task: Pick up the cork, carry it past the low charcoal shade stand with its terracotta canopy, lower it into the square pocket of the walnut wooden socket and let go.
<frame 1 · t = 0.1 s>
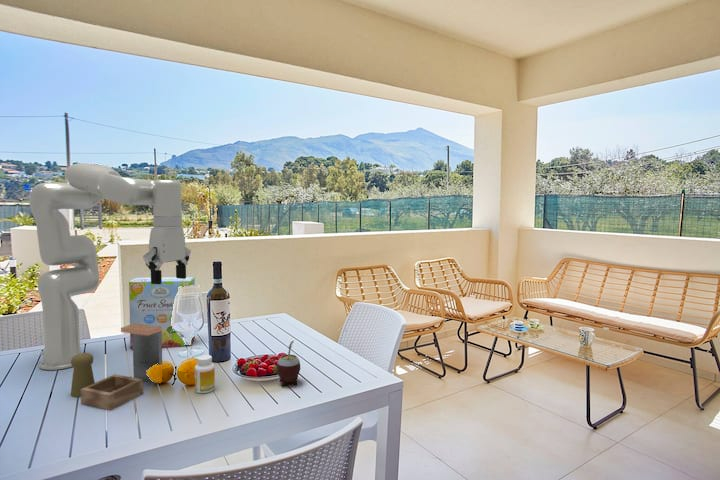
hand: (169, 281, 118), 31 cm above the table, tool pointing down, fingers open, 9 cm apart
supplement bottle: (205, 390, 117), on the table
snack box: (164, 345, 154), on the table
socket block: (112, 398, 111), on the table
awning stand: (148, 380, 122), on the table
cork: (83, 392, 114), on the table
mate gourd: (289, 384, 122), on the table
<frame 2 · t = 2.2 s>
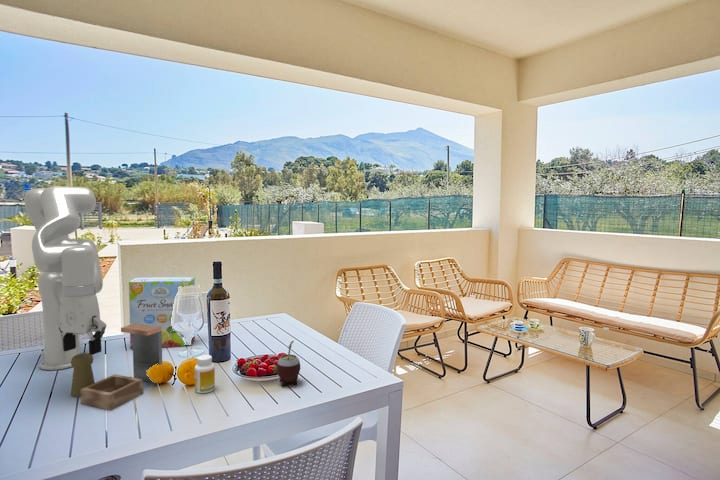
hand: (82, 351, 113), 12 cm above the table, tool pointing down, fingers open, 9 cm apart
nothing on the table moved.
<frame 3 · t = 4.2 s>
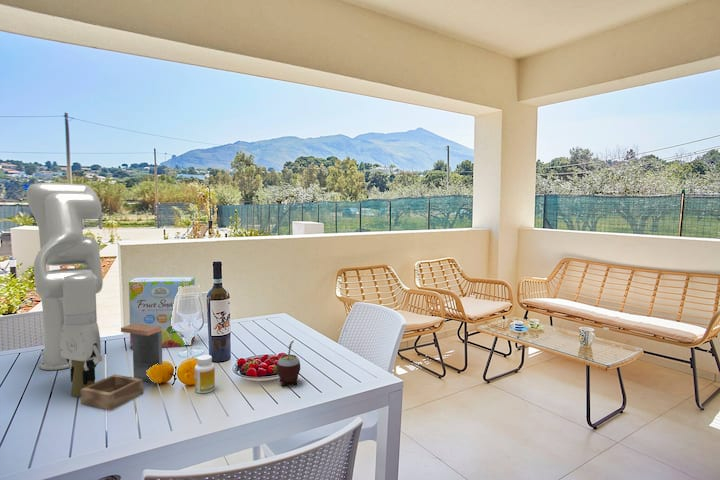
hand: (83, 380, 114), 3 cm above the table, tool pointing down, fingers closed on cork, 3 cm apart
cork: (83, 392, 114), on the table, touching gripper
everything else where it was.
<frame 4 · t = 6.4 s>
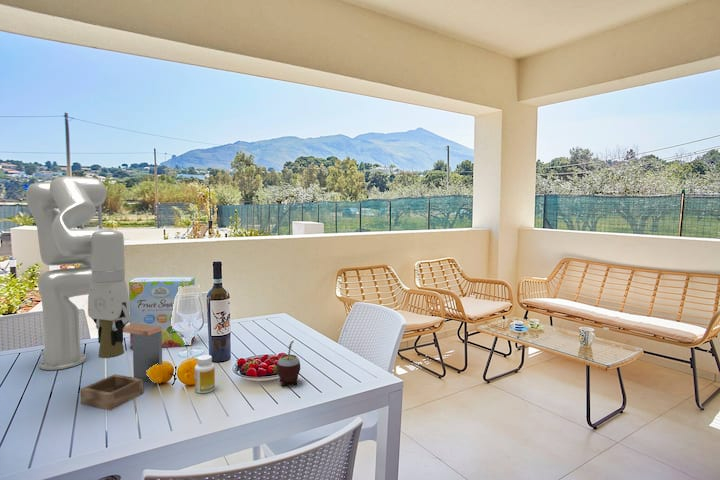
hand: (110, 342, 110), 16 cm above the table, tool pointing down, fingers closed on cork, 3 cm apart
cork: (111, 354, 110), point 12 cm above the table, touching gripper
everything else where it was.
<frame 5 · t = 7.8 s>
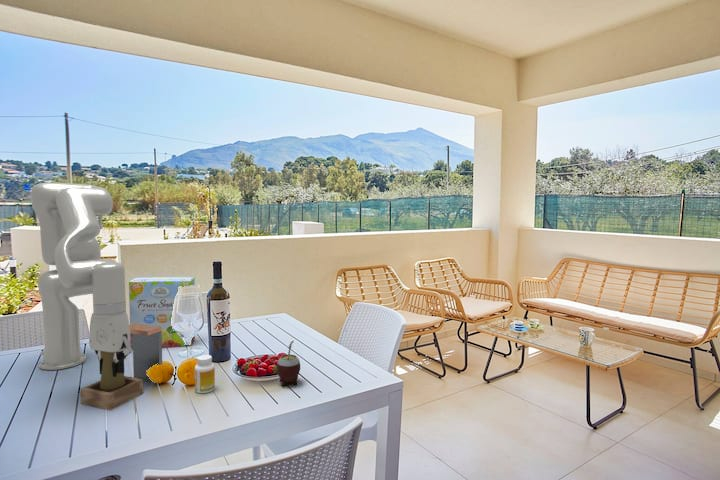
hand: (112, 373, 110), 7 cm above the table, tool pointing down, fingers closed on cork, 3 cm apart
cork: (112, 385, 111), point 4 cm above the table, touching gripper
everything else where it was.
when the fingers open (6 cm above the table, at t = 8.9 s): cork drops 2 cm, resting in socket block.
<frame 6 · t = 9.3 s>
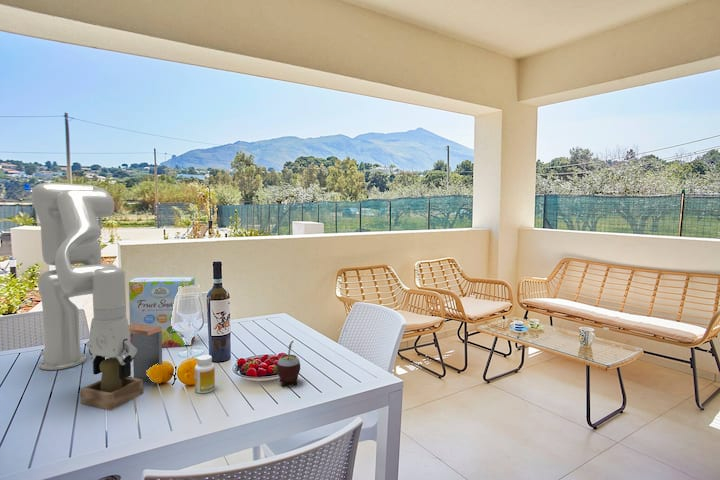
hand: (112, 374, 110), 7 cm above the table, tool pointing down, fingers open, 8 cm apart
cork: (111, 398, 111), resting in socket block
everything else where it was.
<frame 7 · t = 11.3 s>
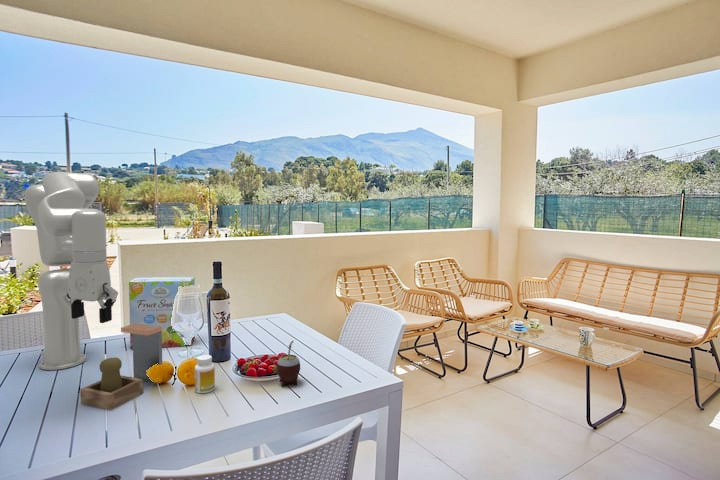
hand: (91, 319, 109), 22 cm above the table, tool pointing down, fingers open, 9 cm apart
nothing on the table moved.
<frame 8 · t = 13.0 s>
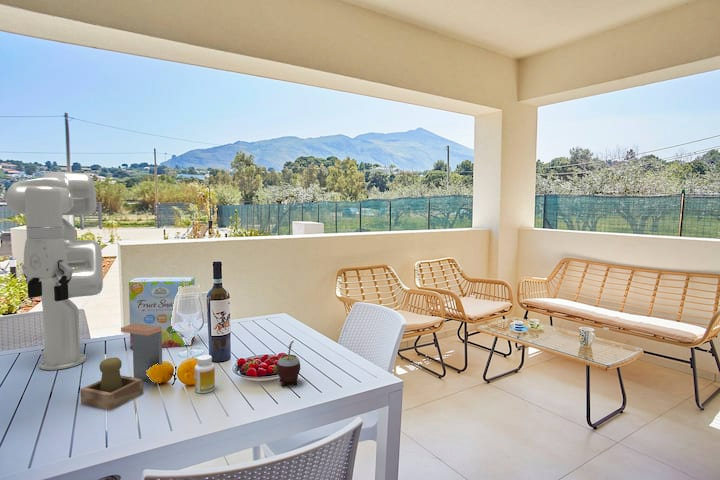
hand: (48, 298, 106), 28 cm above the table, tool pointing down, fingers open, 9 cm apart
nothing on the table moved.
at the end: cork 0.6 cm off-centre on the socket block, point 0.0 cm above the socket block's base; cork tilted 0°; the gripper is holding nothing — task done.
